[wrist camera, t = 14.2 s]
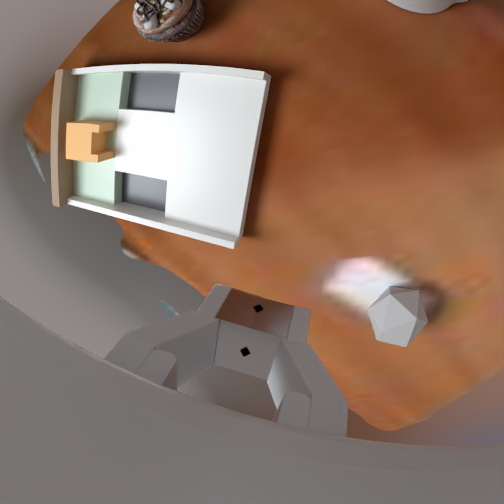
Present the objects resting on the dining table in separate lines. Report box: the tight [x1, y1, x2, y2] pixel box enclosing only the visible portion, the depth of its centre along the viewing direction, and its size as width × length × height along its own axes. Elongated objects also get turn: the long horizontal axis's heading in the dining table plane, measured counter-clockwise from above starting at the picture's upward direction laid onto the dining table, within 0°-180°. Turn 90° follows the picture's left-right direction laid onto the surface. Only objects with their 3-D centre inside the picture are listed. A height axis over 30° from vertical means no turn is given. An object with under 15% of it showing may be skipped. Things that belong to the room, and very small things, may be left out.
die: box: [367, 287, 428, 347], centre depth 42 cm, size 8×9×10 cm
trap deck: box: [51, 64, 271, 249], centre depth 41 cm, size 24×34×6 cm
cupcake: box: [132, 0, 205, 42], centre depth 30 cm, size 10×10×10 cm
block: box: [66, 120, 116, 163], centre depth 41 cm, size 6×8×4 cm
